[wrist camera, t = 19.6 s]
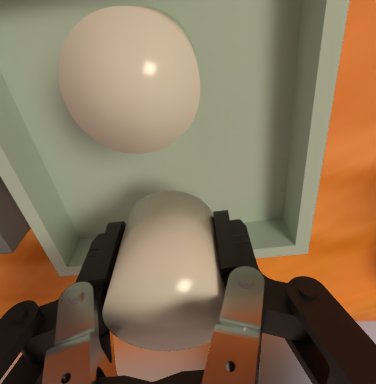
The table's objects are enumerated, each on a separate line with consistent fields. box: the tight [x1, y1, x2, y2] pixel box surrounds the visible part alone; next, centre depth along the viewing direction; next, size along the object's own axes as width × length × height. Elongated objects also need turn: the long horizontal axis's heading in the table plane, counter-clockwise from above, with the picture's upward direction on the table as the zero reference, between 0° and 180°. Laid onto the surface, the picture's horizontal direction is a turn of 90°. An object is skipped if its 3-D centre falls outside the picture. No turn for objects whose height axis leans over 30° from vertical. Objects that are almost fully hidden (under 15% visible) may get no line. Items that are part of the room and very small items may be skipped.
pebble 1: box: [58, 6, 200, 154], centre depth 11 cm, size 4×4×5 cm
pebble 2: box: [102, 191, 225, 351], centre depth 12 cm, size 4×4×5 cm
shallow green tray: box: [0, 0, 350, 277], centre depth 14 cm, size 16×16×4 cm
